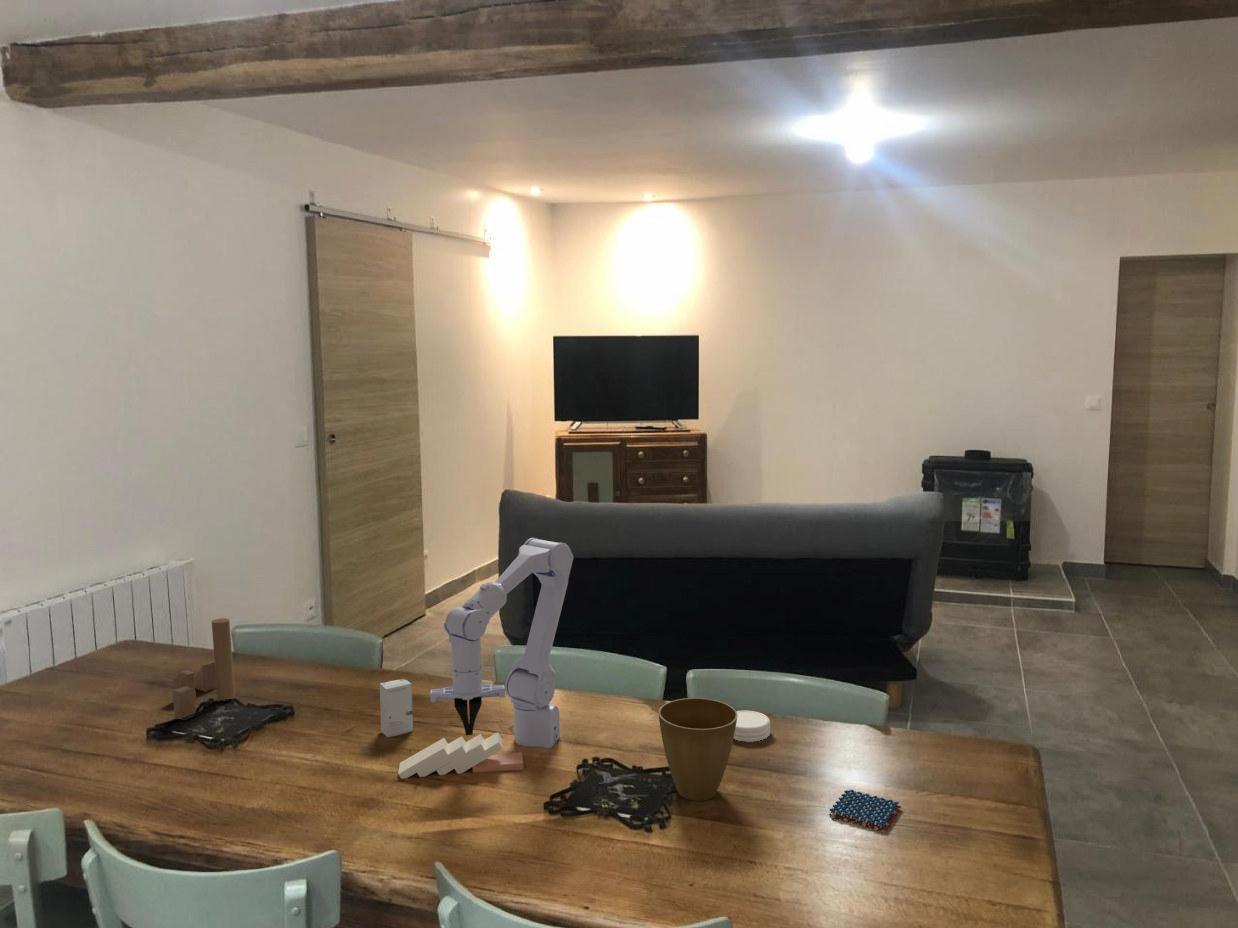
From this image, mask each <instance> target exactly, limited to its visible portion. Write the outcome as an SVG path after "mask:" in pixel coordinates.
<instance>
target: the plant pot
mask: <svg viewBox="0 0 1238 928" xmlns="http://www.w3.org/2000/svg"><path fill="white" fill-rule="evenodd" d="M736 711H737V710H736V709H735V708H734V707H733V706H731V705H730V704H727V703H726V702H723V701H720V700H716V699H711V698H703V697H690V698H689V697H688V698H687V697H686V698H680V699H675V700H670V701H668V702H666V703H664V704H663V705H661V706H660V707H659V709H658V713H657V714H658V720H659V721H658V722H659V727H660V734H661V739H662V745H663V750H664V753H665V757H666V758H665V759H666V762H667V765H668V768H669V772H670V775H671V778H672V780H673V784H674V786H675V788H676V792H677V793H678V795H679V796H680V797H681V798H684V799H685V800H689V801H695V802H702V801H703V802H704V801H708V800H710V799H713V798H714V797H715V796H716V795H717V792H718V791H719V790H718V789H719V788H720V784H721V782H722V780H723V777H724V773H725V772H726V768H727V765H728V763H729V758H730V755H731V751H732V748H733V743H734V740H733V739H734V733H735V728H736V722H737V716H738V715H737V712H736Z"/></svg>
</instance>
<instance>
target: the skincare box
mask: <svg viewBox="0 0 1238 928" xmlns="http://www.w3.org/2000/svg"><path fill="white" fill-rule="evenodd" d="M412 686H413V685H412V683H411V682H410V680H409V681H408V680H407V679H406V678H401V679H395V680H390V681H389V680H388V681H387V682H386V681H385V682H381V683H379V702H380V703H379V705H380V708H379V709H380V727H381V728H380V729H381V734H383V735H384V736H385V737H387V738H390V737H391V738H392V737H395V736H399V735H403V734H407V733H410V732H413V731H414V720H413V719H414V718H413V716H414V715H413V688H412Z"/></svg>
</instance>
